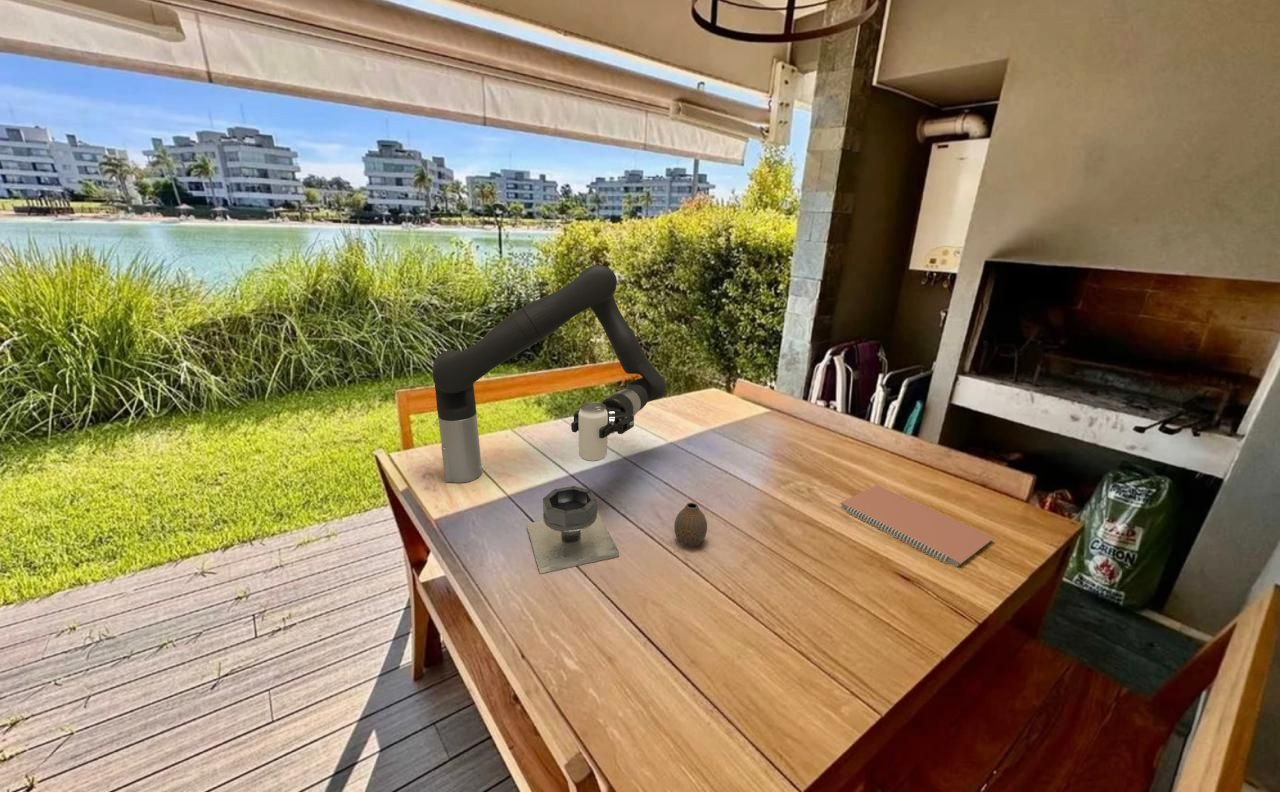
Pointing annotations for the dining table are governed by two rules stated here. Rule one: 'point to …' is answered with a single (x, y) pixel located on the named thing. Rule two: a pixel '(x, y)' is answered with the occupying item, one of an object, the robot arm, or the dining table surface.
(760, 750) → the dining table surface
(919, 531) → the notebook
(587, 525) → the cup bracket
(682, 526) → the vase
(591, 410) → the can
